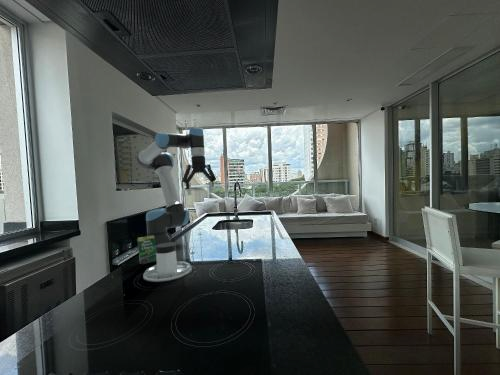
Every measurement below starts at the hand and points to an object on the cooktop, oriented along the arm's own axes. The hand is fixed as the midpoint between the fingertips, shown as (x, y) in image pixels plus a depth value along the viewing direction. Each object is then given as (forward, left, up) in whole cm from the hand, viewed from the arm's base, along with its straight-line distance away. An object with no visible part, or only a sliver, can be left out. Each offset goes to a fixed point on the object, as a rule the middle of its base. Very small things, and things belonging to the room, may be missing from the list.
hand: (200, 194), depth 143 cm
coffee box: (-4, -30, -32) cm, 44 cm away
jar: (+22, -30, -31) cm, 48 cm away
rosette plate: (+19, -29, -32) cm, 47 cm away
